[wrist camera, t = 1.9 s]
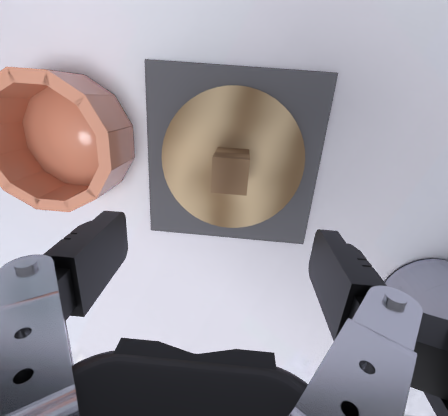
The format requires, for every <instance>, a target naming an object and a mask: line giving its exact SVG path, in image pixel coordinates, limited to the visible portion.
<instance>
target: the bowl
mask: <svg viewBox="0 0 448 416" xmlns="http://www.w3.org/2000/svg"><path fill="white" fill-rule="evenodd" d="M133 159H134V141H133V126H132V124H131V122H130V121H129V119H128V117H127V115H126V114H125V112H124V110H123V108H122V107H121V105H120V103H119V102H118V100H117V98H116V96H115V95H114V94H112V93H111V92H109V91H108V90H106V89H105V88H103V87H102V86H101V85H99V84H98V83H96V82H95V81H93V80H92V79H90V78H89V77H87V76H86V75H82V74H75V73H68V72H60V71H53V70H45V69H31V68H18V67H5V68H4V69H3V70H1V71H0V186H1V188H2V189H3V190H4V191H6V192H7V193H9V194H11V195H13V196H14V197H16V198H18V199H19V200H21V201H23V202H25V203H26V204H28V205H30V206H32V207H33V208H35V209H40V210H51V211H62V212H71V211H73V210H75V209H77V208H79V207H81V206H83V205H85V204H87V203H89V202H91V201H93V200H95V199H97V198H98V197H100V196H101V195H103V194H104V193H106V192H107V191H109V190H110V189H111V188H113V187H114V186H116V185H117V184H119V183H120V182H121V181H122V180H123V178H124V176H125V174H126V172H127V170H128V169H129V167H130V165H131V163H132V161H133Z"/></svg>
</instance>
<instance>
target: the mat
mask: <svg viewBox="0 0 448 416" xmlns="http://www.w3.org/2000/svg"><path fill="white" fill-rule="evenodd" d="M337 76H338V73H334V72H320V71H306V70H291V69H277V68H263V67H248V66H234V65H220V64H205V63H191V62H177V61H162V60H148V59H145V82H146V109H147V135H148V162H149V189H150V216H151V230H155V231H166V232H177V233H188V234H198V235H209V236H220V237H231V238H242V239H253V240H264V241H275V242H286V243H297V244H303V243H304V238H305V233H306V228H307V223H308V218H309V213H310V209H311V204H312V199H313V194H314V189H315V184H316V179H317V174H318V169H319V164H320V160H321V155H322V150H323V145H324V140H325V135H326V130H327V125H328V120H329V115H330V110H331V106H332V101H333V96H334V91H335V86H336V81H337ZM227 85H239V86H246V87H251V88H254V89H258V90H260V91H262V92H264V93H267V94H269V95H270V96H272V97H273V98H275V99H276V100H278V101H279V102H280V103H281V104H282V105H283V106H284V107H285V108H286V109H287V110H288V111H289V112H290V113H291V115H292V116H293V118H294V119H295V121H296V123H297V125H298V127H299V129H300V131H301V134H302V138H303V141H304V147H305V166H304V172H303V176H302V179H301V182H300V184H299V187H298V189H297V191H296V192H295V194H294V196H293V197H292V198H291V200H290V201H289V202H288V203H287V205H286V206H285V207H284V208H283V209H282V210H280V211H279V212H278V213H277V214H275V215H274V216H272V217H271V218H269V219H267V220H265V221H263V222H261V223H258V224H255V225H252V226H247V227H240V228H226V227H220V226H216V225H212V224H209V223H206V222H204V221H202V220H200V219H198V218H196V217H195V216H193V215H192V214H190V213H189V212H188V211H187V210H186V209H184V208H183V207H182V206H181V205H180V203H179V202H178V201H177V200H176V199H175V197H174V196H173V194H172V193H171V191H170V189H169V187H168V185H167V182H166V179H165V176H164V172H163V168H162V146H163V140H164V137H165V134H166V131H167V128H168V126H169V124H170V122H171V120H172V119H173V117H174V116H175V114H176V113H177V112H178V111H179V110H180V108H181V107H182V106H183V105H184V104H186V103H187V102H188V101H189V100H190V99H192V98H193V97H195V96H196V95H198V94H200V93H202V92H204V91H206V90H209V89H212V88H216V87H221V86H227Z"/></svg>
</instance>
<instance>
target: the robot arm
mask: <svg viewBox="0 0 448 416" xmlns="http://www.w3.org/2000/svg"><path fill="white" fill-rule="evenodd" d="M127 250H128V241H127V228H126V217H125V214H124V213H123V212H114V211H103V212H102V213H101V214H100V215H98V216H97V217H96V218H95V219H94V220H93V221H89V222H87V223H84V224H82V225H80V226H78V227H77V228H75V229H74V230H73V231H72V232H71V233H70V234H68V235H67V236H66V237H64V239H62V240H61V241H59V242H58V243H57V244H56V245H54V246H53V247H52V248H51V249H49V250H48V251H47V252H46V253H44V254H43V255H29V256H24V257H20V258H17V259H15V260H12V261H10V262H8V263H7V264H5V265H4V266H2V267H1V268H0V416H404V412H405V408H406V403H407V399H408V394H409V390H410V387H412V388H415V389H418V390H420V391H423V392H424V394H425V395H426V397H427V399H428V401H429V403H430V404H431V406H432V408H433V410H434V412H435V413H436V415H437V416H448V261H446V260H441V259H425V260H420V261H416V262H413V263H410V264H408V265H405V266H404V267H402V268H400V269H399V270H397V271H396V272H395V273H393V274H392V275H391V276H390V277H389V278H388V279H387V281H386V282H384V281H383V280H382V279H381V277H380V276H379V275H378V273H377V272H376V271H375V269H374V268H373V267H372V265H371V264H370V263H369V262H368V261H367V259H366V258H365V256H364V255H363V254H362V252H361V251H360V250H358V249H357V248H355V247H354V246H352V245H351V244H346V242H345V241H344V239H343V238H342V237H341V235H340V234H339V232H338V231H331V230H317V232H316V234H315V238H314V243H313V247H312V252H311V256H310V261H309V276H310V279H311V282H312V285H313V287H314V290H315V293H316V295H317V298H318V300H319V303H320V306H321V308H322V311H323V314H324V316H325V319H326V322H327V324H328V327H329V330H330V332H331V335H332V338H333V340H334V342H333V344H332V346H331V347H330V349H329V351H328V352H327V354H326V356H325V357H324V359H323V361H322V362H321V364H320V366H319V367H318V369H317V371H316V372H315V374H314V376H313V377H312V379H311V381H310V382H309V384H307V383H306V382H304V381H303V380H302V379H300V378H299V377H297V376H295V375H294V374H292V373H290V372H288V371H286V370H284V369H282V368H279V367H276V364H275V356H274V353H271V352H260V351H250V350H240V349H233V350H225V351H218V352H210V353H202V354H193V353H190V352H187V351H184V350H181V349H179V348H176V347H173V346H170V345H167V344H164V343H161V342H159V341H149V340H139V339H129V338H121V339H120V341H119V343H118V345H117V347H116V349H115V351H109V352H105V353H101V354H98V355H95V356H92V357H89V358H87V359H84V360H82V361H80V362H78V363H76V364H74V363H73V358H72V353H71V347H70V342H69V336H68V331H67V326H66V320H67V318H68V317H69V316H80V317H84V316H85V315H86V314H87V312H88V311H89V309H90V308H91V306H92V305H93V304H94V302H95V301H96V299H97V298H98V297H99V295H100V294H101V292H102V291H103V290H104V288H105V287H106V285H107V284H108V282H109V281H110V280H111V278H112V277H113V275H114V274H115V273H116V271H117V270H118V268H119V267H120V266H121V264H122V263H123V261H124V260H125V258H126V255H127Z"/></svg>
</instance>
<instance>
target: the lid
mask: <svg viewBox="0 0 448 416" xmlns="http://www.w3.org/2000/svg"><path fill="white" fill-rule="evenodd" d="M304 166H305V147H304V141H303V138H302V134H301V131H300V129H299V127H298V125H297V123H296V121H295V119H294V118H293V116H292V115H291V113H290V112H289V111H288V110H287V109H286V108H285V107H284V106H283V105H282V104H281V103H280V102H279V101H278V100H276V99H275V98H273V97H272V96H270V95H269V94H267V93H264V92H262V91H260V90H258V89H254V88H251V87H246V86H239V85H227V86H221V87H216V88H212V89H209V90H206V91H204V92H202V93H200V94H198V95H196V96H195V97H193V98H192V99H190V100H189V101H188V102H187V103H186V104H184V105H183V106H182V107H181V108H180V110H179V111H178V112H177V113H176V114H175V116H174V117H173V119H172V120H171V122H170V124H169V126H168V128H167V131H166V134H165V137H164V140H163V146H162V168H163V172H164V176H165V179H166V182H167V185H168V187H169V189H170V191H171V193H172V194H173V196H174V197H175V199H176V200H177V201H178V202H179V203H180V205H181V206H182V207H183V208H184V209H186V210H187V211H188V212H189V213H190V214H192V215H193V216H195V217H196V218H198V219H200V220H202V221H204V222H206V223H209V224H212V225H216V226H220V227H226V228H240V227H247V226H252V225H255V224H258V223H261V222H263V221H265V220H267V219H269V218H271V217H272V216H274V215H275V214H277V213H278V212H279V211H280V210H282V209H283V208H284V207H285V206H286V205H287V203H288V202H289V201H290V200H291V198H292V197H293V196H294V194H295V192H296V191H297V189H298V187H299V184H300V182H301V179H302V176H303V172H304Z"/></svg>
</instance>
